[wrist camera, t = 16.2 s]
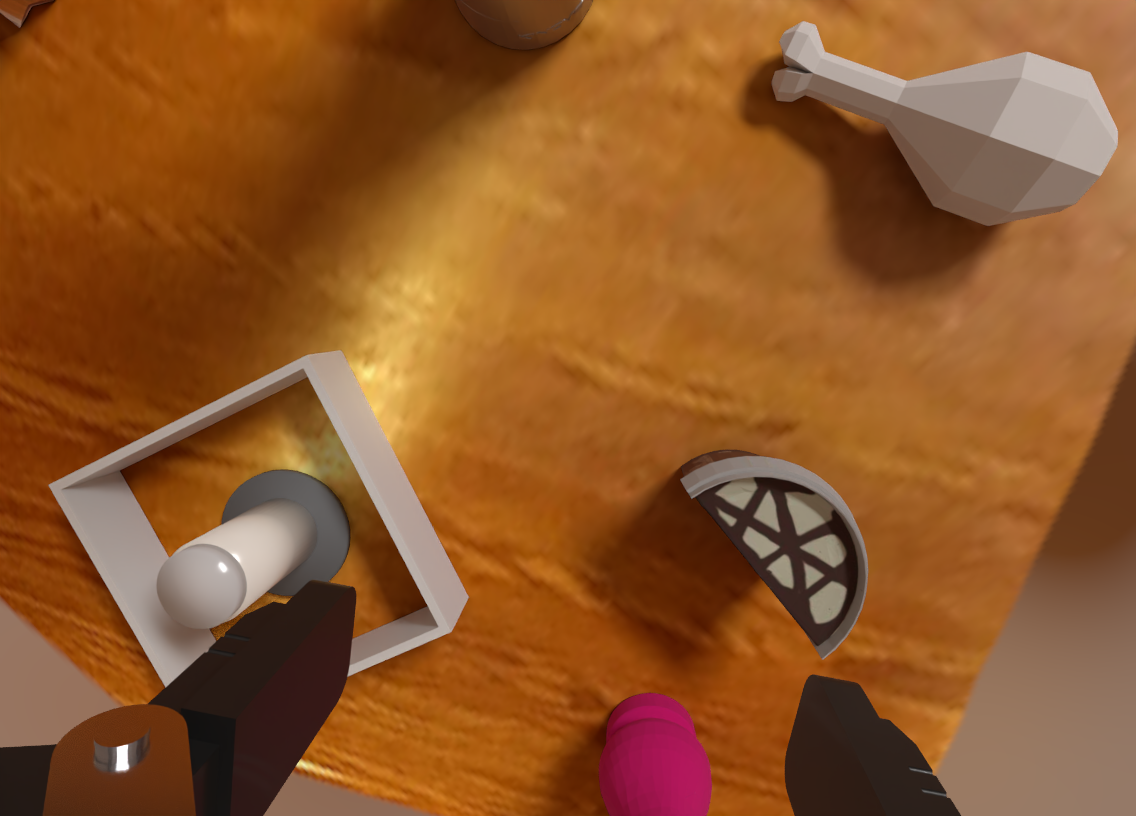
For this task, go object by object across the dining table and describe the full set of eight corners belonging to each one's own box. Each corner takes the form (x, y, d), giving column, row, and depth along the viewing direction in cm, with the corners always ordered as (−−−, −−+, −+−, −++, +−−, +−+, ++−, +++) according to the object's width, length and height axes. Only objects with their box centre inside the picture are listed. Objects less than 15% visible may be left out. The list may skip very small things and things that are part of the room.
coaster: (203, 501, 46) (198, 503, 45) (312, 448, 45) (308, 450, 44) (264, 611, 47) (260, 614, 46) (372, 562, 46) (369, 565, 45)
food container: (854, 534, 43) (927, 599, 33) (779, 588, 44) (828, 667, 34) (741, 391, 42) (782, 415, 32) (666, 449, 43) (684, 489, 33)
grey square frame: (108, 466, 46) (48, 485, 41) (341, 350, 44) (307, 354, 39) (239, 697, 48) (196, 741, 43) (468, 597, 46) (451, 631, 41)
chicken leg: (813, -13, 40) (800, -33, 33) (1120, 90, 36) (1178, 91, 29) (753, 128, 44) (730, 136, 37) (1021, 232, 40) (1051, 262, 34)
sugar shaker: (235, 515, 45) (137, 568, 36) (296, 486, 45) (212, 532, 35) (269, 577, 46) (181, 645, 36) (330, 549, 45) (256, 612, 36)
